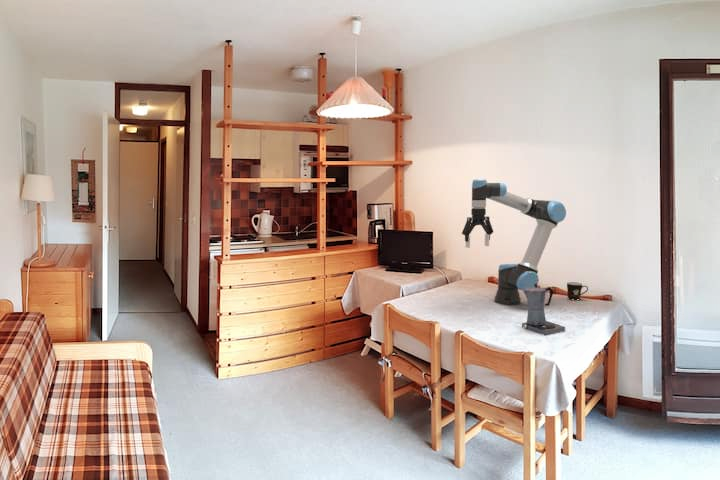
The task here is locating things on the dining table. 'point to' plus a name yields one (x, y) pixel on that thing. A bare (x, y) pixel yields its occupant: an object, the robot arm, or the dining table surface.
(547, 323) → the hot plate
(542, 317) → the moka pot
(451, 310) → the dining table surface
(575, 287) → the coffee mug
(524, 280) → the robot arm
